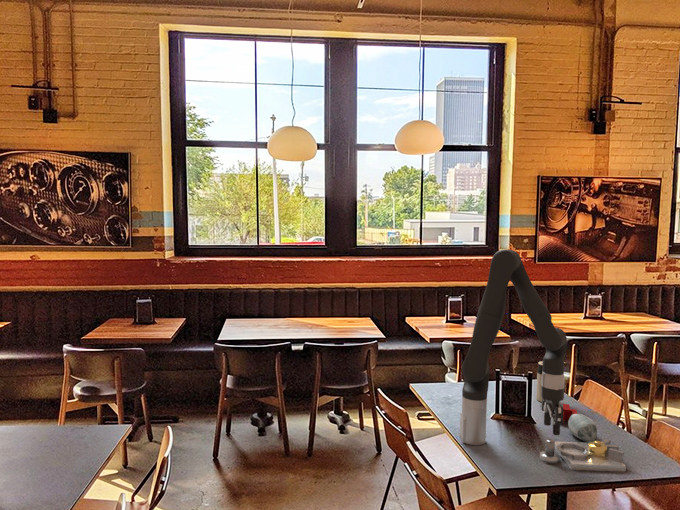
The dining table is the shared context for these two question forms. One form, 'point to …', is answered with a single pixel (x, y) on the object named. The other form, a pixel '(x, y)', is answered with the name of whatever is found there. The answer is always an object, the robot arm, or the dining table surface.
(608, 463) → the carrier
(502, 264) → the robot arm
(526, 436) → the dining table surface
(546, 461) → the silver knob
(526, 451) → the dining table surface
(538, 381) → the travel mug
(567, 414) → the mechanical linkage
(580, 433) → the streaked stone egg
